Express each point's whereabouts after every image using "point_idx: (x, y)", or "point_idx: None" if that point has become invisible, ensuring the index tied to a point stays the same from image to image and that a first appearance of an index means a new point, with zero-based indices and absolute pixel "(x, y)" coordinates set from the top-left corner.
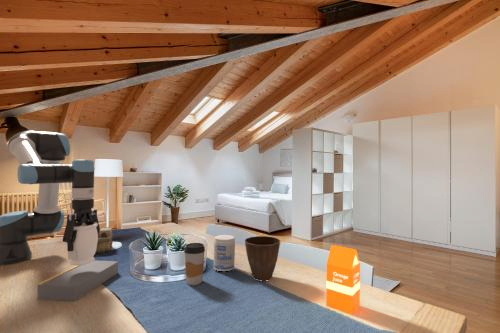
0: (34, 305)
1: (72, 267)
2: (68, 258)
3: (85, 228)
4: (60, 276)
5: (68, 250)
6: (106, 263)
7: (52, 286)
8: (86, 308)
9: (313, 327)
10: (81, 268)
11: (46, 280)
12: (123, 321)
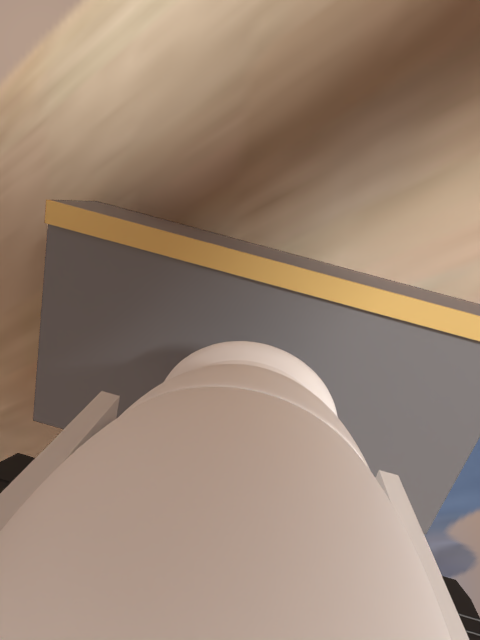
0: (32, 228)
1: (343, 287)
2: (95, 400)
3: None
4: (179, 278)
5: (7, 468)
6: (401, 477)
7: (45, 298)
8: (23, 446)
9: None
10: (323, 352)
11: (99, 226)
12: None
